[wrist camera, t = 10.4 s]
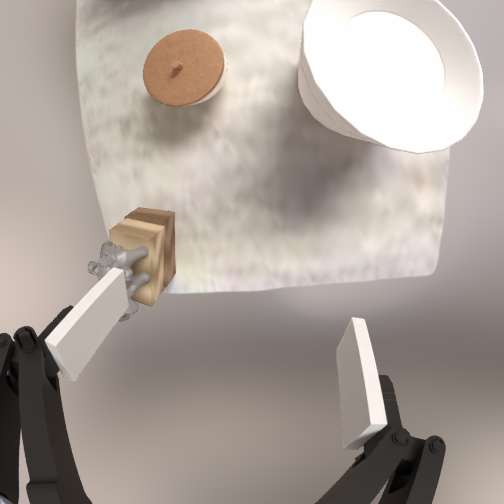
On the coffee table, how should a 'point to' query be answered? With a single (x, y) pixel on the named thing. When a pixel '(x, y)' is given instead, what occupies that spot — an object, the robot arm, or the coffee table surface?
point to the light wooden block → (152, 237)
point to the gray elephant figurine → (122, 260)
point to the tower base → (169, 235)
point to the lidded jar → (185, 68)
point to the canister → (390, 72)
